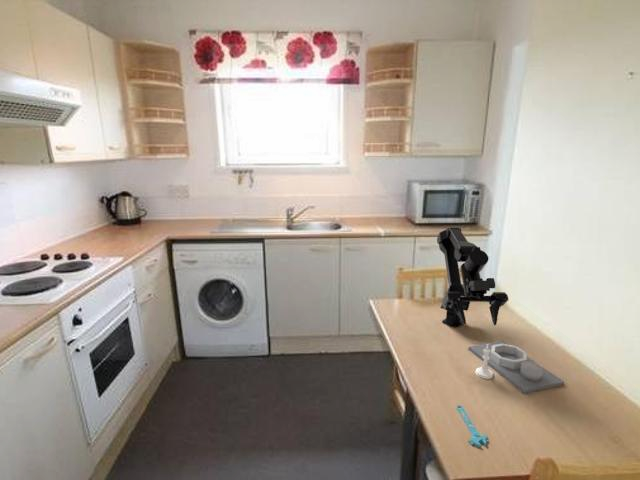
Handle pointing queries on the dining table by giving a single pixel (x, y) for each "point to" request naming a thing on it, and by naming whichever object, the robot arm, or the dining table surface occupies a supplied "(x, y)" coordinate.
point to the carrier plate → (517, 367)
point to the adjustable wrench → (473, 430)
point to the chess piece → (485, 366)
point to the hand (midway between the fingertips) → (480, 324)
